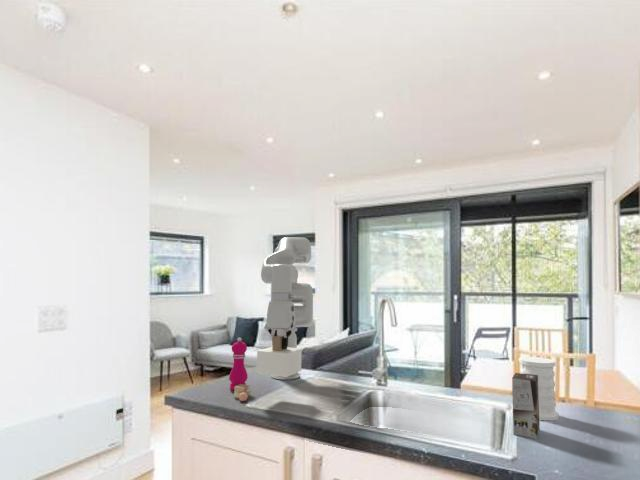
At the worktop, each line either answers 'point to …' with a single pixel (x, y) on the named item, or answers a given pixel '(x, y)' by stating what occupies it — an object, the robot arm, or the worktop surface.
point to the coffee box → (525, 405)
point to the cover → (279, 359)
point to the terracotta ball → (243, 396)
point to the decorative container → (542, 384)
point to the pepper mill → (238, 364)
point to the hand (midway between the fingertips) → (280, 347)
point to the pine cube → (241, 390)
